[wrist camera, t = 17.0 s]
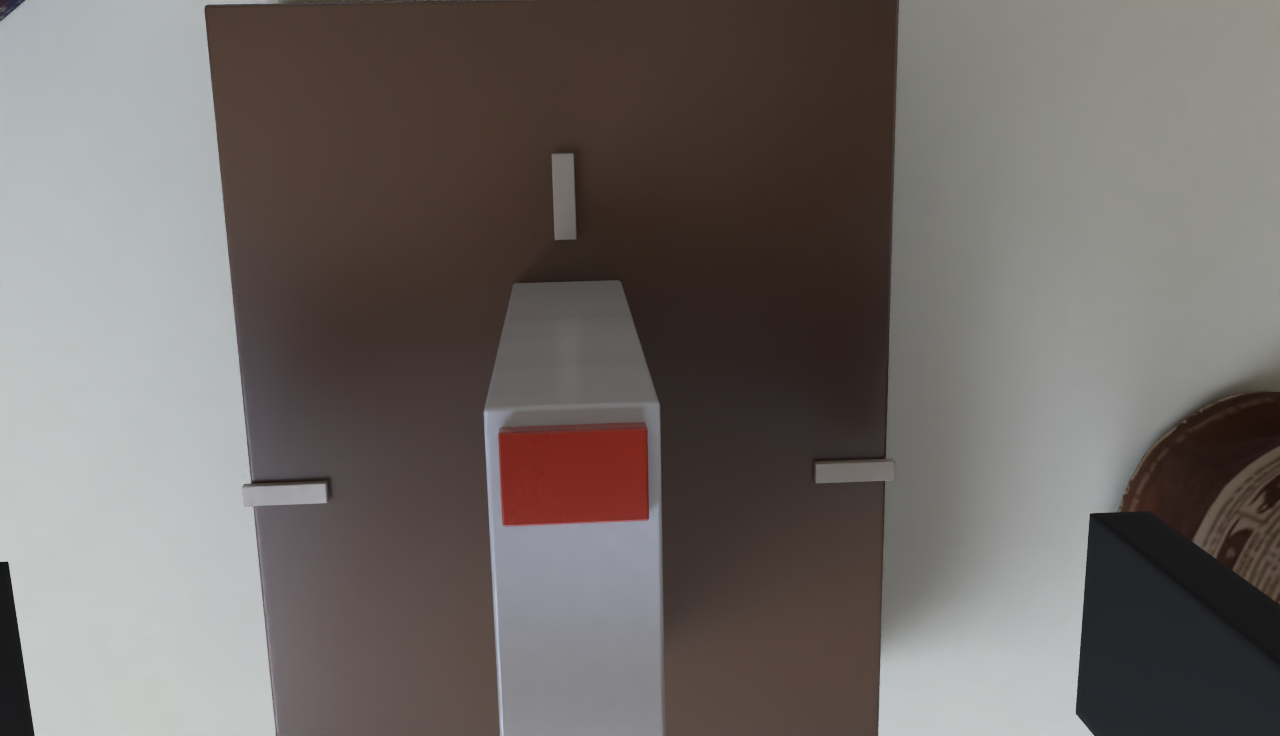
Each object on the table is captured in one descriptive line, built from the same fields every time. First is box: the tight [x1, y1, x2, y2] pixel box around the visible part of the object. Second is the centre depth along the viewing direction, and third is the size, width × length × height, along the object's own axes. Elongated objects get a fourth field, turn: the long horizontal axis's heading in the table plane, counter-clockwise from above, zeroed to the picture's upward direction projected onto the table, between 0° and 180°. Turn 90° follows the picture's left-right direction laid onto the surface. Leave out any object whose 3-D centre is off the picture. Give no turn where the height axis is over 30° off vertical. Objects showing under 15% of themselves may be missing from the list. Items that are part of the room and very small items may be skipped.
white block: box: [483, 280, 665, 736], centre depth 17 cm, size 7×2×8 cm, turn 1°
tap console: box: [205, 0, 899, 736], centre depth 22 cm, size 14×11×4 cm
